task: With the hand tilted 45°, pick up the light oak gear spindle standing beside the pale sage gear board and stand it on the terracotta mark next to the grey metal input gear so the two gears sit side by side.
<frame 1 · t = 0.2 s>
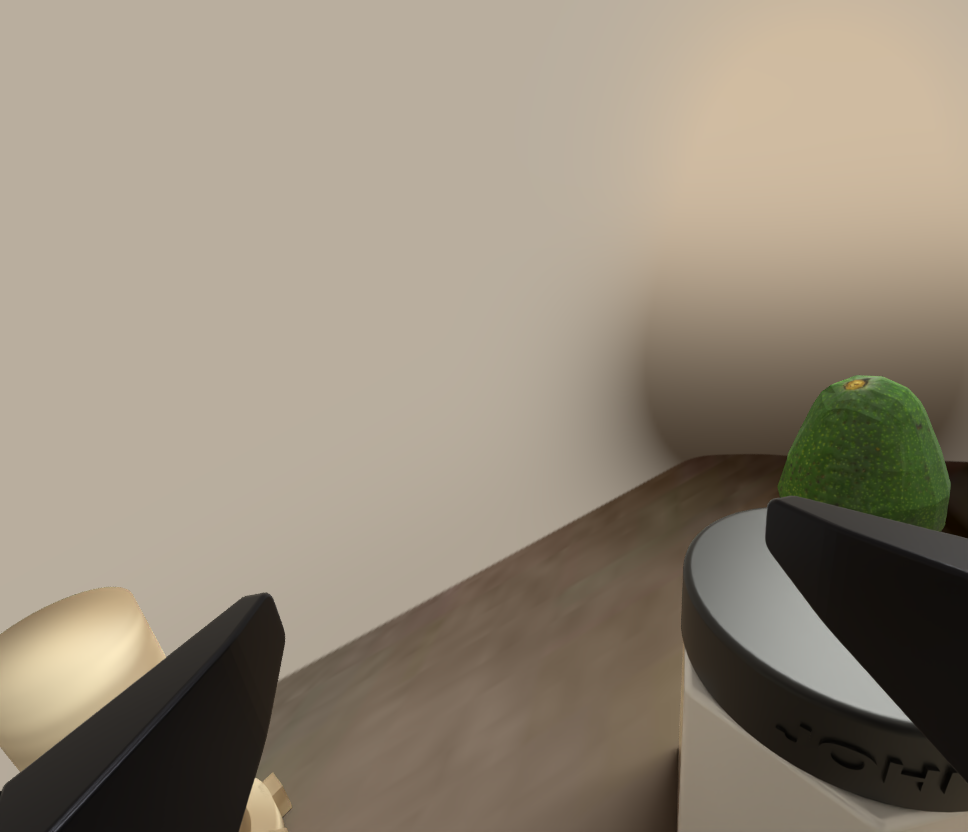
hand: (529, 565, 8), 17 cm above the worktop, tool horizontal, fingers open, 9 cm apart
avocado: (843, 558, 30), on the worktop
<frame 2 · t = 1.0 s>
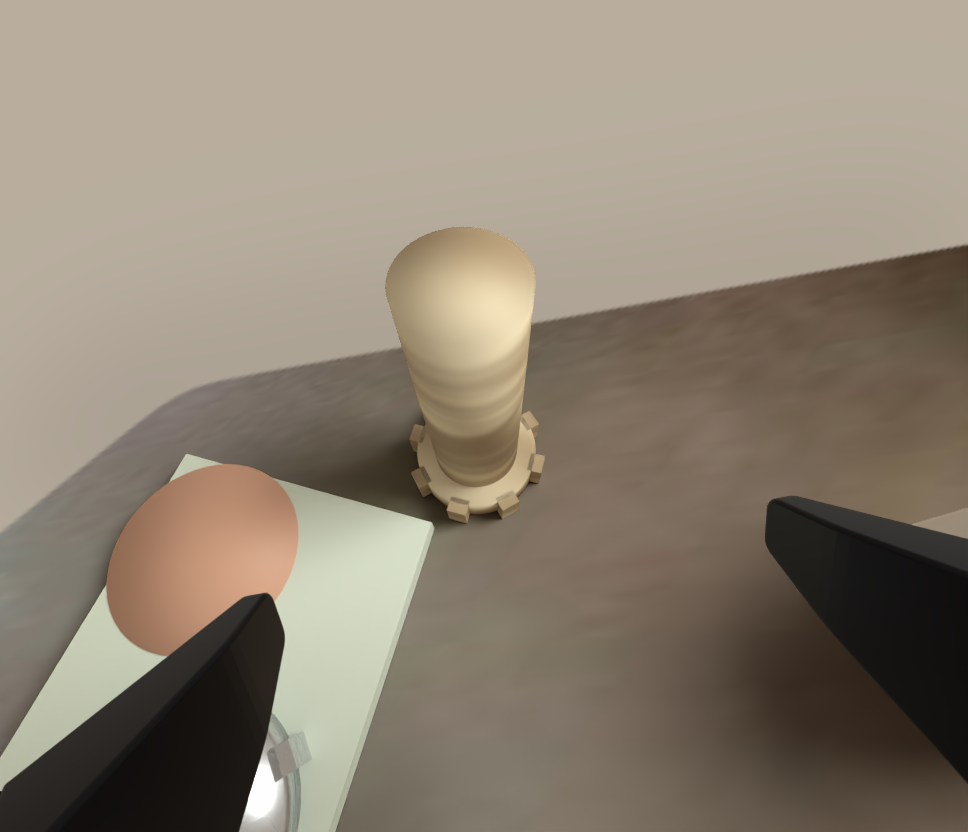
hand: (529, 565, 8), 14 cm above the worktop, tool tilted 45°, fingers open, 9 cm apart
spindle: (477, 459, 24), on the worktop
jar: (960, 628, 20), on the worktop
board: (226, 680, 20), on the worktop
input gear: (189, 819, 17), resting on board
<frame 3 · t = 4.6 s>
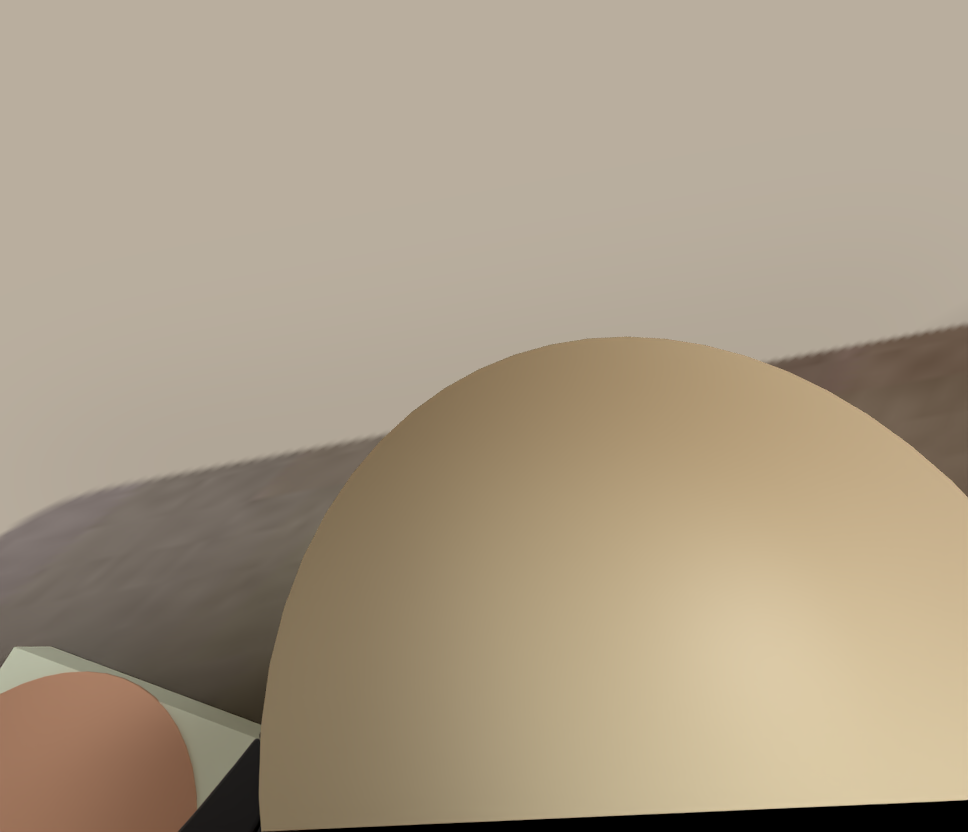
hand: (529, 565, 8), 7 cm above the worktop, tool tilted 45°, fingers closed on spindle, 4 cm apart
spindle: (523, 647, 14), on the worktop, touching gripper
when the fingers open (10 cm above the worktop, at t = 7.9 s): spindle drops 1 cm, resting on board.
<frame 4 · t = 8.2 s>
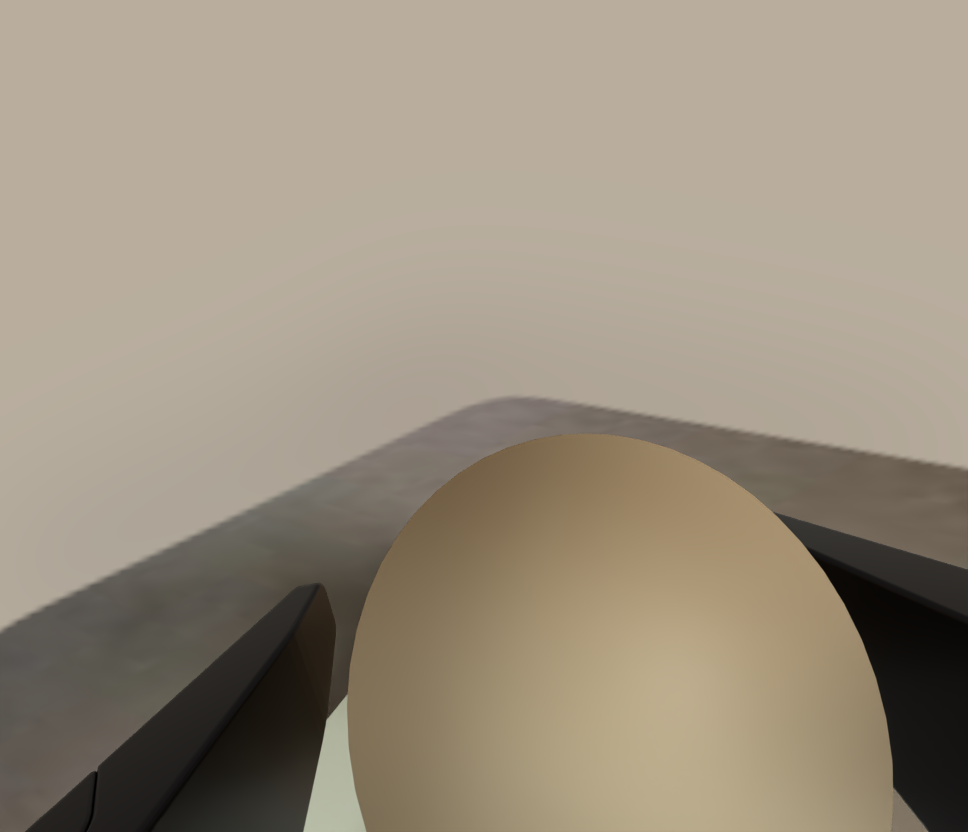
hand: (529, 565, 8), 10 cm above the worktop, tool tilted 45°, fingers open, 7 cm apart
spindle: (520, 648, 15), point 1 cm above the worktop, touching board
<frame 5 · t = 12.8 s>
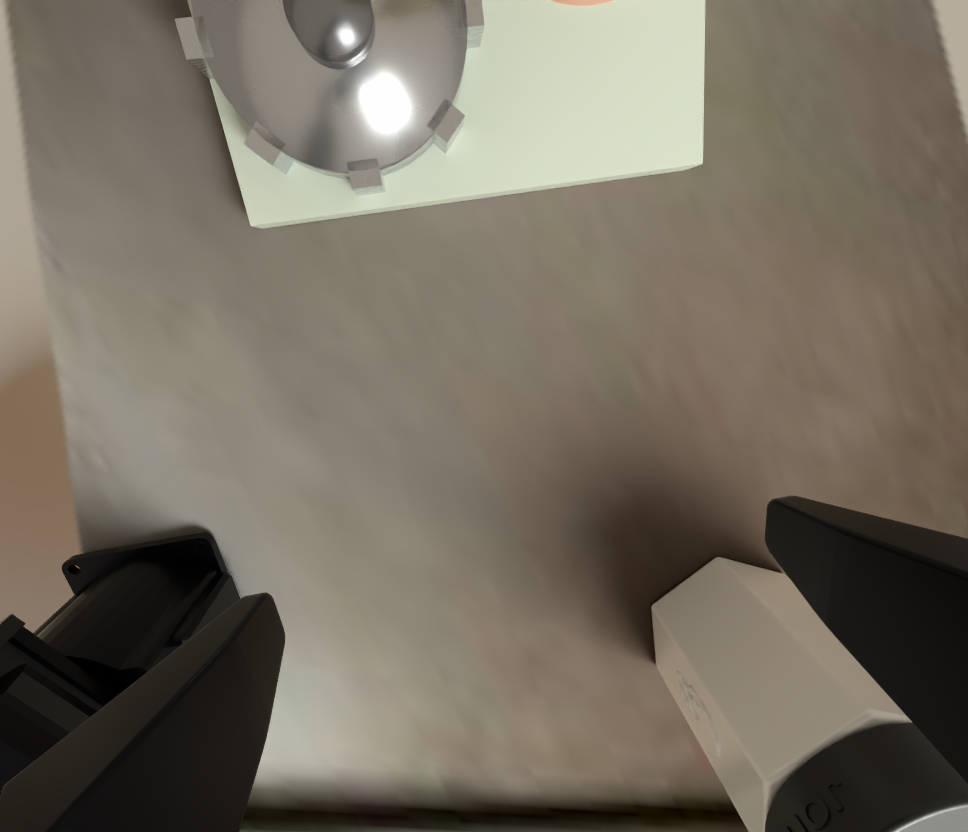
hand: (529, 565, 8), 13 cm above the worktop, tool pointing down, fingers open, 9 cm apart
jar: (715, 616, 27), on the worktop
input gear: (343, 44, 15), resting on board
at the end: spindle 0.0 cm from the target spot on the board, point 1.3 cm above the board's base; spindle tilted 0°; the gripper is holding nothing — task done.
